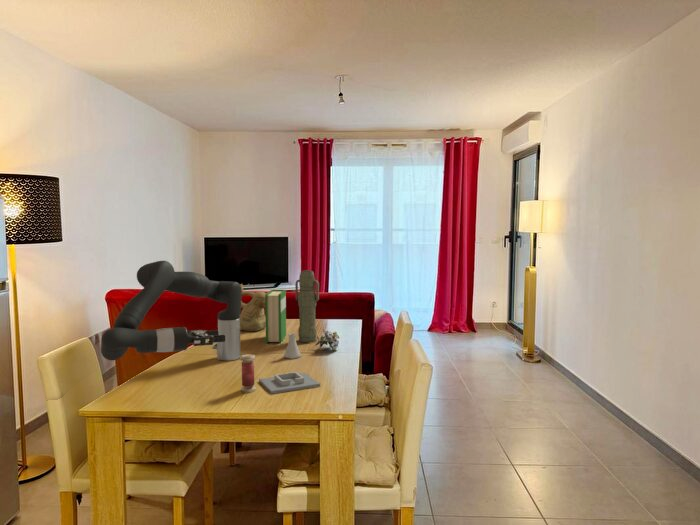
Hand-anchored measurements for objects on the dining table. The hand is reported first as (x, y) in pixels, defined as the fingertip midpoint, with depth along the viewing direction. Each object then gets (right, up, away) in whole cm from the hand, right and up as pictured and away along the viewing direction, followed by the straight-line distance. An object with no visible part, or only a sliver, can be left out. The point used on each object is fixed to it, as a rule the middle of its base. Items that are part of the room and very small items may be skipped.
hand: (221, 335), depth 166 cm
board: (+21, -19, +13) cm, 31 cm away
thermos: (+22, -15, +80) cm, 84 cm away
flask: (+18, -17, +50) cm, 55 cm away
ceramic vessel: (-11, -13, +108) cm, 109 cm away
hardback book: (+6, -14, +83) cm, 85 cm away
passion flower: (+33, -16, +61) cm, 71 cm away
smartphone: (-18, -16, +73) cm, 76 cm away
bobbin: (+8, -20, +6) cm, 22 cm away
